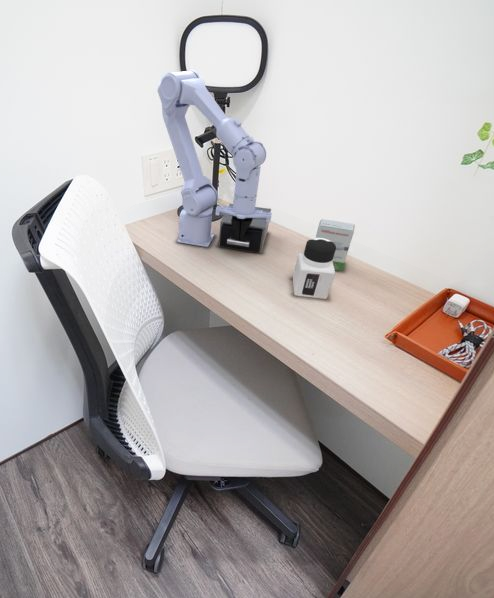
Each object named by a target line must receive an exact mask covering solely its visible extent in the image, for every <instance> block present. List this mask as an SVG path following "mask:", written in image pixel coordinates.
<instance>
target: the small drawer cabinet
mask: <svg viewBox="0 0 494 598" xmlns="http://www.w3.org/2000/svg"><path fill="white" fill-rule="evenodd" d="M228 206H233V203H230V204H229V205H228ZM255 209H258V210H262V211H265V212H271V213H272V208H267V207H259V206H255ZM231 220H232V216H226V215H222V218H221V220H220V223H219V234H218V235H219V236H218V247H220V248H225V249H229V250H230V249H231V250H236V251H243V252H248V253H249V252H250V253H256V254H262V252H263V249H264V245H265V242H266V238H267V234H268V229H269V224H270V222H266V221H264V220H256V219H253V220H252V223H251V225H250V226H249V228H253V229H260V230H262V231H263V232H262V239H261V245H260V251H259V252H253V251H247V250H241V249H235V248H228V247H222V246H220V236H221V226H222V225H232V223H231ZM232 226H233V225H232Z"/></svg>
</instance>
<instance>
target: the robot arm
mask: <svg viewBox="0 0 494 598" xmlns="http://www.w3.org/2000/svg"><path fill="white" fill-rule="evenodd" d="M156 91H157V93H158V97H159V100H160V102H161V115H162V119H163V122H164V125H165V128H166V131H167V134H168V137H169V139H170V142H171V146H172V149H173V152H174V155H175V158H176V160H177V163H178V166H179V169H180V173H181V175H182V179H183V181H184V183H183V185H182V188H181V190H180V194H181V197H182V201H181V202H182V203H181V204H182V208H183V209H181V210H180V213H179V217H178V239H177V243H179V244H186V245H193V246H199V247H205V248H209V247H210V244H211V242H212V241H213V239H214V238H215V234H214V233H212V222H213V211H214V207H215V206H216V205H217V204H218V201H219V193H218V191H217V189H216V188H215V187H214V186H213V183H212V180H211V179H210V178H208V177H207V176H205V175H204V172H203V170H202V166H201V163H200V160H199V157H198V154H197V150H196V147H195V143H194V141H193V137H192V135H191V132H190V129H189V125H188V122H187V119H186V115H187V112H188V110H189V108H190V106H194V107H196V108H197V110H198V111H199V112H201V114H202V115H203V116H204V117H205V118H206V119H207V120H208V121H209V122H210V123H211V124H212V125H213V127H215V129H216V132H215V133H216V138H217V139H218V140H219V141H220V143H221V144H222V145H223V146H224V148H226V150H227V151H228V152H229V153H230V155H231V156H232V162H233V166H234V168H235V183H234V194H233V202H232V204H233V206H229V205H228V206H227V205H217V206H216V208H215V216H224V215H226V216H232V220H231V223H232V225H233V228H234V230H235V234H236V240H241V241H243V238H244V235H245V233H246V231H247V229H248V228H249V226H250V225H251V223H252V220H253V219H256V220H264V221H266V222H269V223H271V220H272V216H273V215H272V214H273V212H272V211H271V212H265V211H262V210H258V209H255V207H256V205H257V204H256V203H257V198H258V190H259V182H260V174H261V168H262V167H261V166H262V165H263V164H264V162H265V161H266V159H267V149H266V148H265V146H264V145H263V143H262V142H261V141H256V140H255V139H254V138H253V136H250V135H249V134H248V132H247V131H246V130H245V129H244V127H242V122H241V120H240V119H236V118H235V117H227V115H226V113H225V112H224V111H223V109H222V108H221V107H220V105H219V104H218V103H217V101H216V100H215V98H214V97H213V96H212V94H211V93H210V91H209V90H208V89H207V87H206V83H205V80H204V79H202V77H200V75H199V73H198V72H197V71H195V70H193V69H189V70H185V71H175V72H170V71H169V72H166V73H164V74H163V75H162V76H161V78H160V81H159V84H158V87H157V90H156Z"/></svg>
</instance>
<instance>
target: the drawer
mask: <svg viewBox="0 0 494 598" xmlns="http://www.w3.org/2000/svg"><path fill="white" fill-rule="evenodd" d="M262 232H263V231H262V230H260V229H257V230H256V229H249V228H248V229H247V231H246V233H245V235H244V238H243V241H241V240H236V234H235V230H234V228H233V226H231V225H222V226H221V236H220V246H222V247H221V248H224V247H228V248H227V249H230V248H235V249H234V250H236V249H241V250H240V251H243V250H247V251H246V252H249V251H253V252H252V253H255V252H259V251H260V245H261V239H262Z"/></svg>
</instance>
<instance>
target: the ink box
mask: <svg viewBox="0 0 494 598" xmlns="http://www.w3.org/2000/svg"><path fill="white" fill-rule="evenodd" d="M316 230H317V231H316V235H315V238H324V239H327V240H330V241H332V242H333V243H334V244H335V245H336V251H335V254H334V257H333V261H332V262H333V266H334V269H335V271H338V272H339V271H340V272H342V271H343V269H344V265H345V262H346V259H347V255H348V252H349V250H350V246H351V243H352V239H353V237H354V232H355V224H354V223H348V222H343V221H337V220H330V219H324V218H321V219H320V220H319V222H318V226H317V229H316Z"/></svg>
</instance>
